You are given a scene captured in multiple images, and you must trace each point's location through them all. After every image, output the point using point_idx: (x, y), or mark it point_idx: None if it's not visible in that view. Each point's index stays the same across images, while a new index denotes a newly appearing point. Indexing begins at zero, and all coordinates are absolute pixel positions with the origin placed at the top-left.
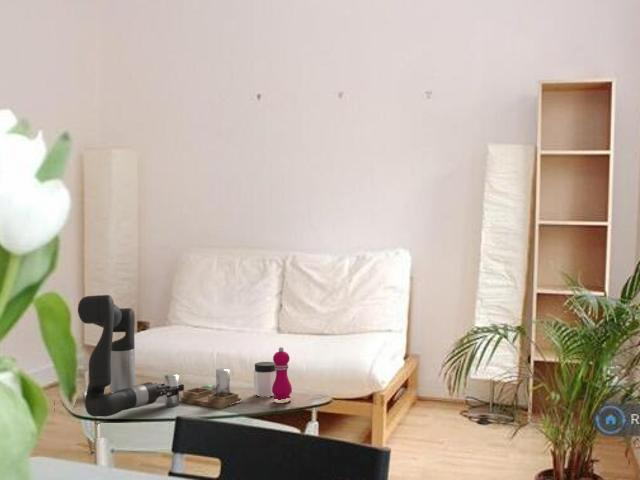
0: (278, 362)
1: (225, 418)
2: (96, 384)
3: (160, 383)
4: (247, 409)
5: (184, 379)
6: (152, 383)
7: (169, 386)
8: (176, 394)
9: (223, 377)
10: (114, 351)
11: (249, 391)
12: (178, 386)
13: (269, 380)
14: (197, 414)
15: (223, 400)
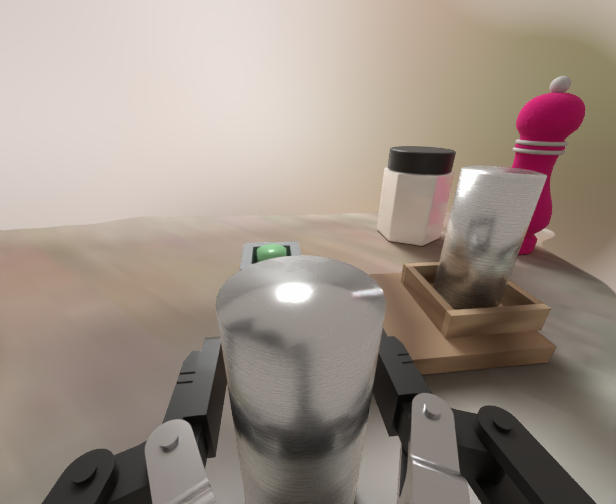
0: (573, 128)
1: None
2: None
3: (170, 433)
4: (593, 315)
5: (67, 236)
6: None
7: (467, 490)
8: (522, 501)
9: (534, 210)
10: None
11: (342, 233)
12: (404, 373)
13: (449, 195)
14: None
15: (544, 318)
